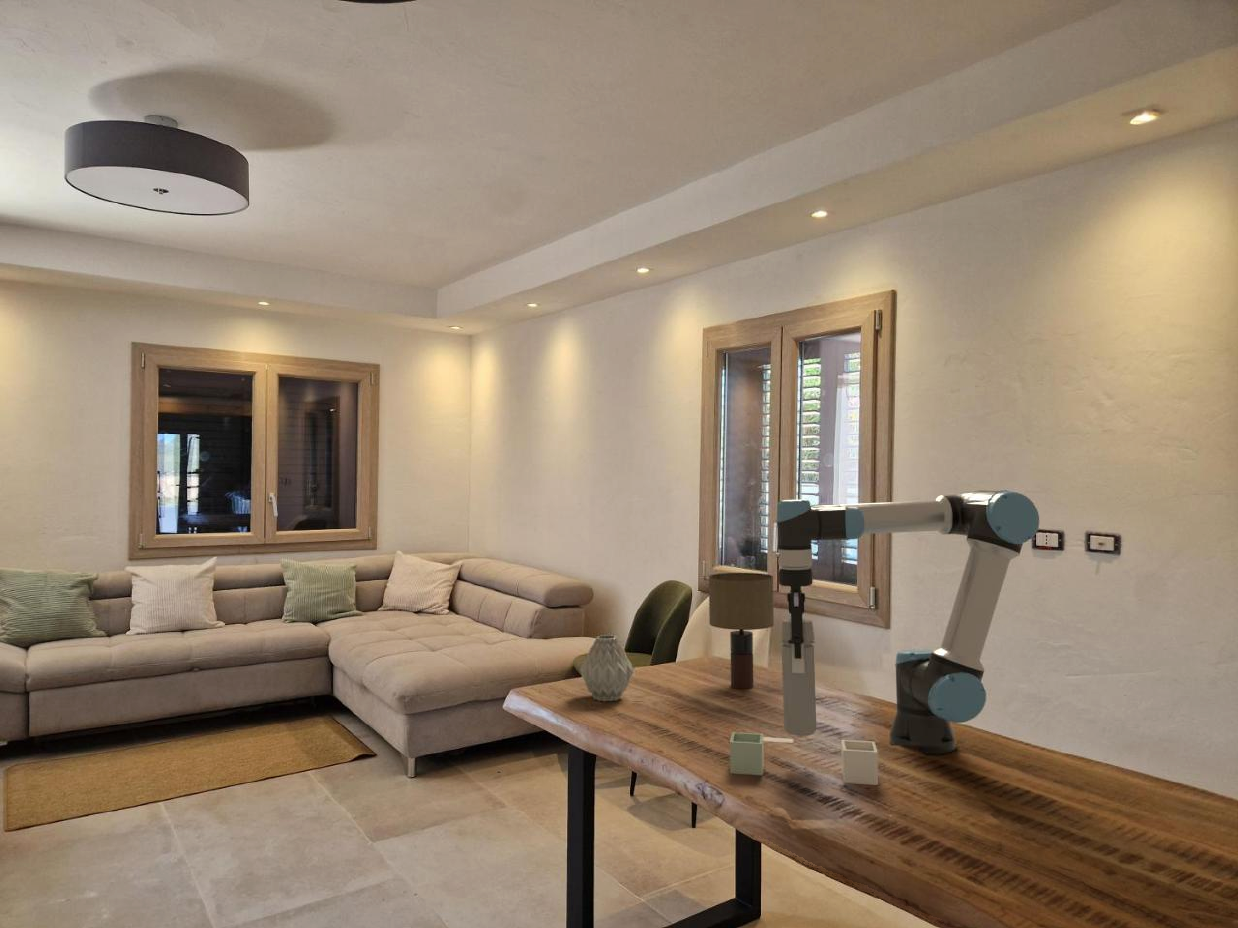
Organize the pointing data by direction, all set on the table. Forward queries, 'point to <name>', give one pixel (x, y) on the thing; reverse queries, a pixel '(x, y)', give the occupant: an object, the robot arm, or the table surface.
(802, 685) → the water bottle
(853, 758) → the cream open box
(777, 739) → the felt mat
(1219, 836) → the table surface
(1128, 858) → the table surface
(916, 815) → the table surface
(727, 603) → the lamp
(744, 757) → the sage open box
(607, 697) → the vase
